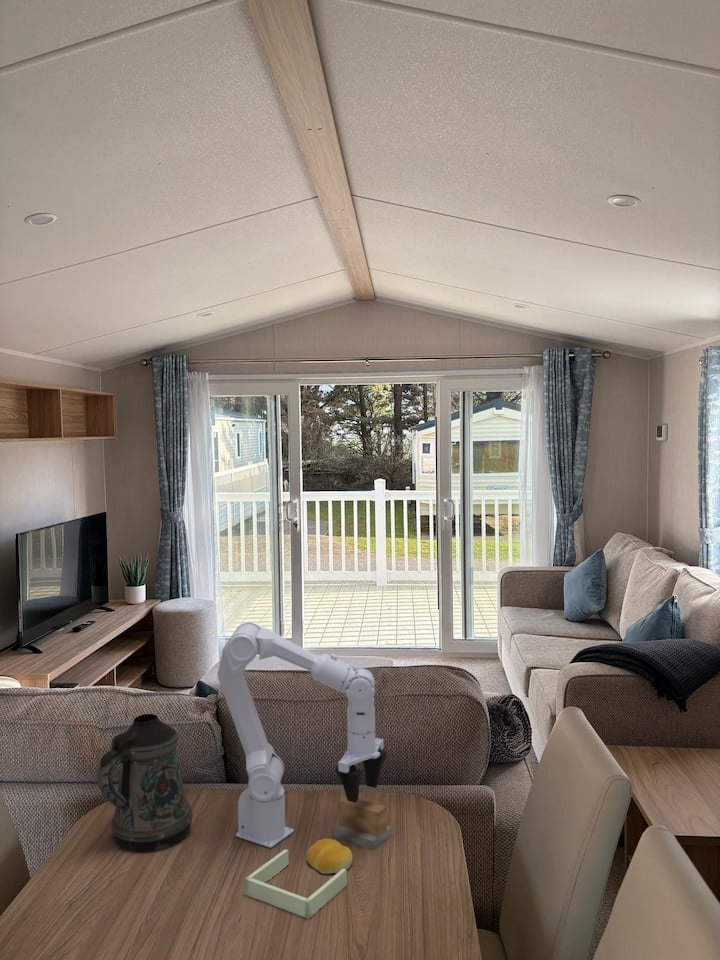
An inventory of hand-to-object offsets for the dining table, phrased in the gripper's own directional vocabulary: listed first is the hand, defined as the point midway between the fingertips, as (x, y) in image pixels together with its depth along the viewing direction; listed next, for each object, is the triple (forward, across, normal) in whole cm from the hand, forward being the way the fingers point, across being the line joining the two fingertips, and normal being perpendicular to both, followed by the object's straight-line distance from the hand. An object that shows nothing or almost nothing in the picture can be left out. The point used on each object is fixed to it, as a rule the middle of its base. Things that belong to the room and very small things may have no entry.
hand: (362, 793), depth 167 cm
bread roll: (+9, -12, 0) cm, 15 cm away
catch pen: (+9, -23, 0) cm, 25 cm away
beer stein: (+9, -23, +38) cm, 45 cm away
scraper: (+9, 0, 0) cm, 9 cm away
